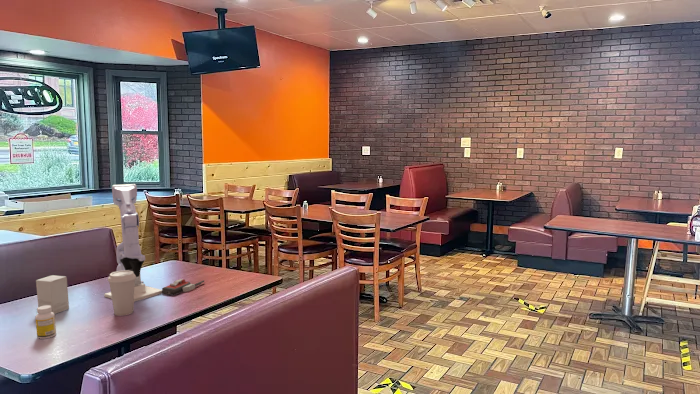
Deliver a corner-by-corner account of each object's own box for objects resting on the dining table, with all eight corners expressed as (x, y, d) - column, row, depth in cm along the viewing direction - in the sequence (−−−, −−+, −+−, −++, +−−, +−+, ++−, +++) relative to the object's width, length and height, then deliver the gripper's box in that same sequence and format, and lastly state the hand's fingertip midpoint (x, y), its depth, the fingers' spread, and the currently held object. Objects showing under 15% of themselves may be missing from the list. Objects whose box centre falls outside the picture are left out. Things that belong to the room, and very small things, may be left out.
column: (126, 286, 209) (125, 270, 208) (135, 283, 213) (134, 268, 212) (132, 287, 207) (131, 271, 206) (140, 285, 210) (140, 269, 210)
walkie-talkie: (176, 297, 208) (206, 284, 226) (176, 287, 207) (205, 274, 226) (159, 295, 210) (189, 282, 229) (158, 285, 210) (189, 272, 229)
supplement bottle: (42, 333, 170) (40, 304, 169) (59, 332, 170) (57, 304, 169) (33, 339, 164) (31, 310, 163) (51, 339, 165) (49, 309, 164)
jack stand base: (104, 296, 208) (103, 286, 208) (139, 286, 221) (139, 276, 221) (128, 303, 199) (127, 292, 199) (163, 293, 213) (162, 282, 212)
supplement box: (69, 308, 194) (67, 276, 192) (52, 315, 187) (50, 281, 185) (55, 306, 196) (52, 274, 195) (37, 313, 189) (35, 279, 188)
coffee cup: (110, 318, 183) (107, 278, 181) (109, 310, 191) (106, 271, 189) (139, 314, 187) (136, 274, 185) (136, 306, 196) (134, 268, 194)
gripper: (111, 243, 208) (113, 275, 210) (133, 247, 201) (135, 280, 202) (127, 240, 214) (129, 271, 216) (149, 243, 206) (150, 276, 208)
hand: (133, 275), depth 209 cm, fingers closed on column, 4 cm apart
